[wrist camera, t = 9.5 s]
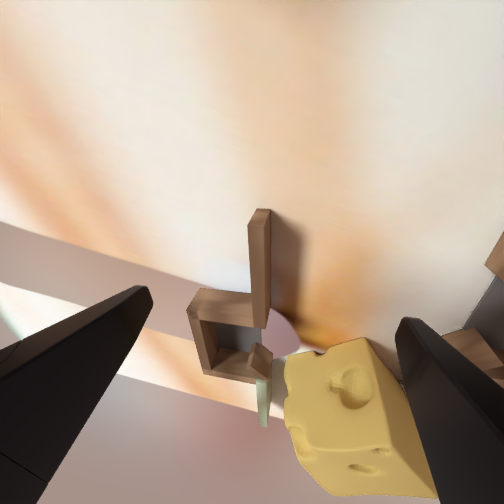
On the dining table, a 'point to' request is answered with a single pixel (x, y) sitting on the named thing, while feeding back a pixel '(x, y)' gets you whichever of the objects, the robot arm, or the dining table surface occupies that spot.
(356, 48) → the dining table surface
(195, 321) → the wooden frame
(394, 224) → the dining table surface
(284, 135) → the dining table surface
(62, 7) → the dining table surface
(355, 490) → the cheese
